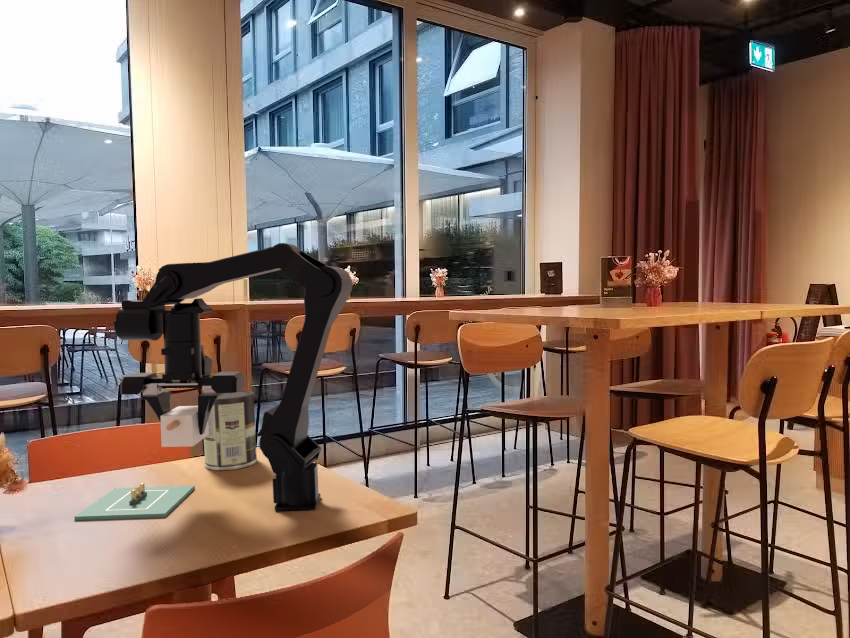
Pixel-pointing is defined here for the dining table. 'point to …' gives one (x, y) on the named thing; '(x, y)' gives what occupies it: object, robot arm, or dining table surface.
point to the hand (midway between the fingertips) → (185, 434)
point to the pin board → (136, 503)
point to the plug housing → (181, 427)
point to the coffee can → (231, 432)
